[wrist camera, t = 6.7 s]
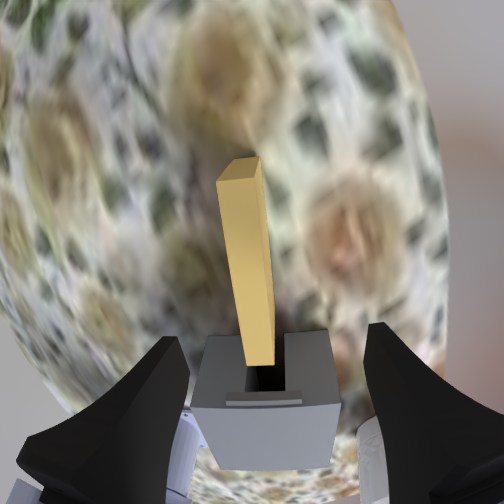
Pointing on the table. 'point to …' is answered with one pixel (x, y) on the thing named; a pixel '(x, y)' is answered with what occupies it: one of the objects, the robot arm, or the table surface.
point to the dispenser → (268, 405)
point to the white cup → (372, 464)
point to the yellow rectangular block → (249, 256)
